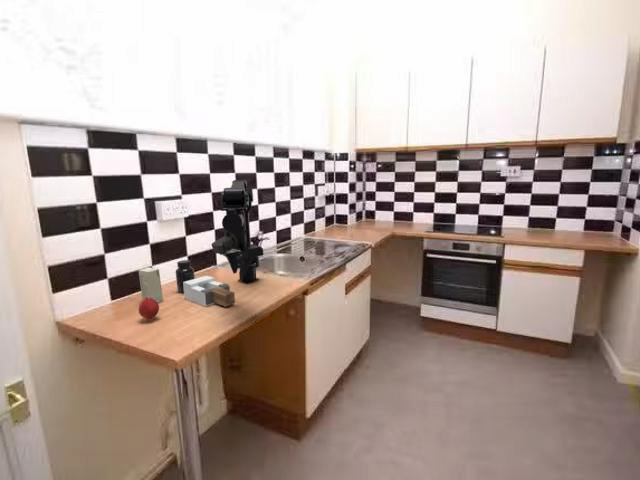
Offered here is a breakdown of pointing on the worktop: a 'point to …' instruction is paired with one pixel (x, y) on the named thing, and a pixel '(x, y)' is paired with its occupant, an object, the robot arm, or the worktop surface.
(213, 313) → the worktop surface
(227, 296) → the peg
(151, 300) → the onion
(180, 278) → the supplement bottle
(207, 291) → the sleeve
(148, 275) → the skincare box
